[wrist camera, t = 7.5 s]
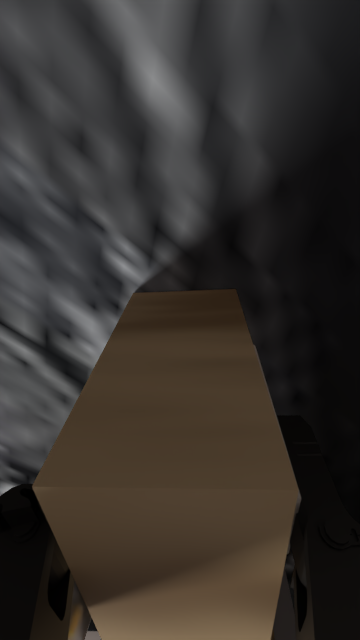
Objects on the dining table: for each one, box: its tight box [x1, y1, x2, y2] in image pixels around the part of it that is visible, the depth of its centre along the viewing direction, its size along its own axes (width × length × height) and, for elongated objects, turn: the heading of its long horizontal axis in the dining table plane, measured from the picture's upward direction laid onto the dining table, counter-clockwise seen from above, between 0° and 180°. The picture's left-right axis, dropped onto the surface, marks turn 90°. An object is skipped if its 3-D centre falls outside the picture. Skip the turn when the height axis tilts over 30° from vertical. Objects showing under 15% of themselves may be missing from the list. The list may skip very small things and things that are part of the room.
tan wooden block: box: [32, 289, 299, 640], centre depth 13 cm, size 20×4×9 cm, turn 4°
